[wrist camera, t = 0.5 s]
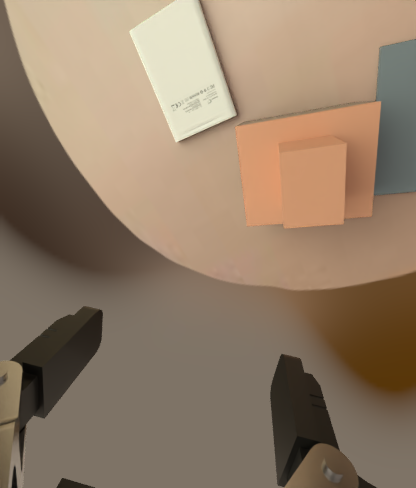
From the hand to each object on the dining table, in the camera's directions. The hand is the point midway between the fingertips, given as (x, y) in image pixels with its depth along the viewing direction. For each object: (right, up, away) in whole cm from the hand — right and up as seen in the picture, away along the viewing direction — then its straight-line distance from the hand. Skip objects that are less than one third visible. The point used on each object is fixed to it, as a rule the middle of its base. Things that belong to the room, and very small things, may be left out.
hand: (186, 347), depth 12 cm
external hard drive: (-1, +24, +20) cm, 32 cm away
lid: (+11, +12, +16) cm, 23 cm away
